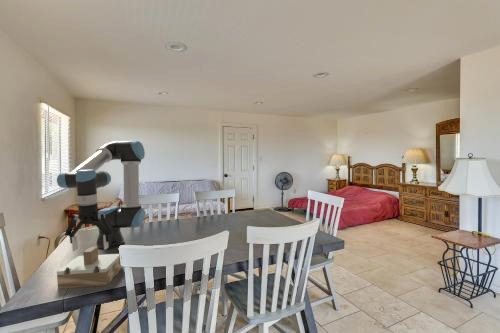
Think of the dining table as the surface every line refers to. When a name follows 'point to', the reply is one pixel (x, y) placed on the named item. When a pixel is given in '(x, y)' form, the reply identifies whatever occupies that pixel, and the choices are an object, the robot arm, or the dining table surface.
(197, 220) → the dining table surface
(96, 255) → the white box lid
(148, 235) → the dining table surface
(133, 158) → the robot arm
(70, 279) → the shallow wooden tray
